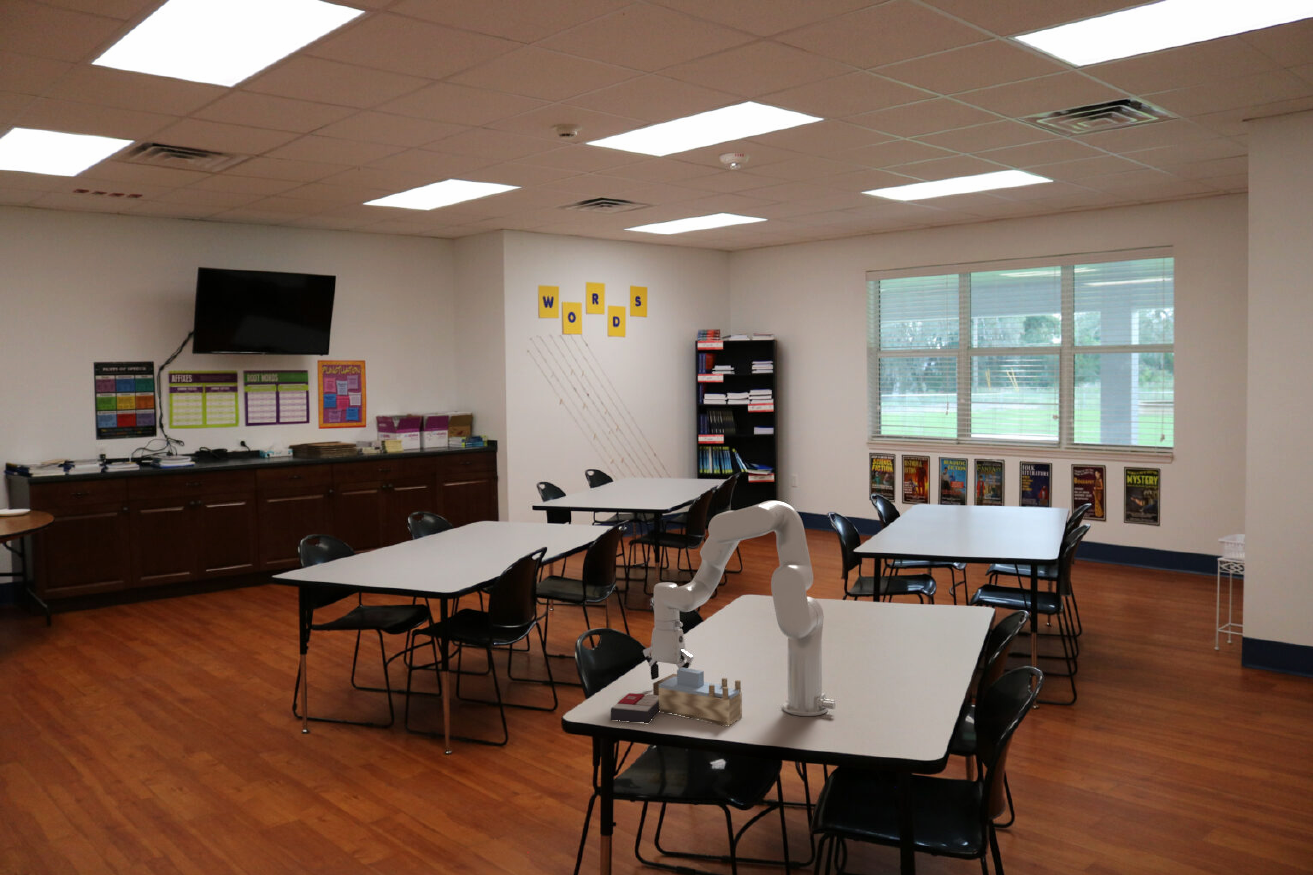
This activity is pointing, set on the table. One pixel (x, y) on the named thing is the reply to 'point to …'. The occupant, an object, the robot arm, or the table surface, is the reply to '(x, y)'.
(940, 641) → the table surface
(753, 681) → the table surface
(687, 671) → the lid
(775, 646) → the table surface
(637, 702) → the grey red box
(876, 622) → the table surface
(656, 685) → the brown wooden block
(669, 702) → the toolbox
